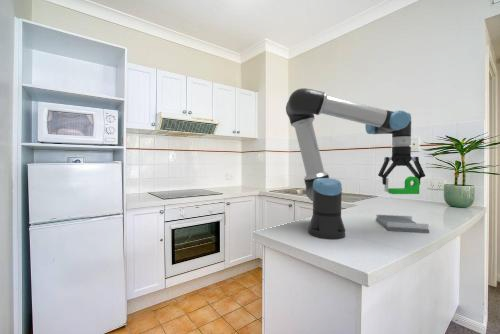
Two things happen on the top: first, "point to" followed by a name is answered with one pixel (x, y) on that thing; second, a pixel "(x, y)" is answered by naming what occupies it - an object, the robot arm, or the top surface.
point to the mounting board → (384, 224)
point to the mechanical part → (407, 187)
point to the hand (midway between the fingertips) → (400, 191)
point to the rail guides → (402, 225)
